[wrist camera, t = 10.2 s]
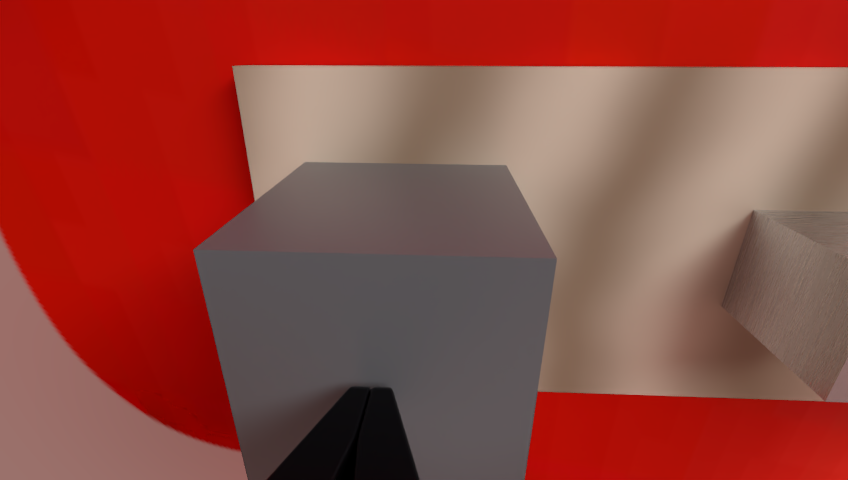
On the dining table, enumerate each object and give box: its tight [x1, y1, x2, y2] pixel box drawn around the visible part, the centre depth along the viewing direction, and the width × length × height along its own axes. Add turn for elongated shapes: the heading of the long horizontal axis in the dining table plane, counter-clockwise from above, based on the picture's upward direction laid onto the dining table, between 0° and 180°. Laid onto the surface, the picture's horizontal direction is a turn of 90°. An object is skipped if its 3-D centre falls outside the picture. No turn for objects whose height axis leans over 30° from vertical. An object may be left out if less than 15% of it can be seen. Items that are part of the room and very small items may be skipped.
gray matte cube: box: [193, 162, 557, 480], centre depth 12 cm, size 6×6×7 cm
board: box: [232, 65, 848, 401], centre depth 15 cm, size 24×12×1 cm, turn 90°
